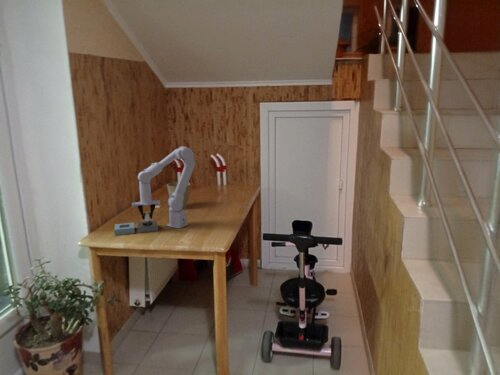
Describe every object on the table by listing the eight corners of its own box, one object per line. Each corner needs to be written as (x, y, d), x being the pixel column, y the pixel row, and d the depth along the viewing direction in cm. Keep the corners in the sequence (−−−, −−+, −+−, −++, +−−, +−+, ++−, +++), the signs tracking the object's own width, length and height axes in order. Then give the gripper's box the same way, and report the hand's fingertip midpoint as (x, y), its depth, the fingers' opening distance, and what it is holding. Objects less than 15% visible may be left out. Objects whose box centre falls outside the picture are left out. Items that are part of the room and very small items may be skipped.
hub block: (134, 227, 216) (134, 222, 215) (134, 233, 206) (134, 227, 206) (115, 229, 213) (115, 224, 212) (114, 235, 204) (114, 229, 203)
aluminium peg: (152, 224, 213) (151, 212, 212) (147, 226, 210) (146, 214, 209) (148, 223, 215) (147, 211, 213) (143, 225, 212) (142, 213, 211)
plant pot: (186, 211, 246) (185, 186, 242) (164, 210, 249) (163, 186, 245) (194, 205, 260) (193, 182, 257) (173, 204, 263) (172, 181, 259)
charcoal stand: (156, 225, 219) (156, 220, 218) (158, 231, 210) (157, 225, 209) (138, 227, 216) (137, 222, 216) (138, 233, 207) (138, 227, 206)
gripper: (131, 196, 203) (133, 222, 206) (160, 194, 207) (161, 219, 210) (131, 193, 210) (133, 218, 213) (159, 191, 214) (160, 215, 217)
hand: (147, 218), depth 212 cm, fingers closed on aluminium peg, 4 cm apart
